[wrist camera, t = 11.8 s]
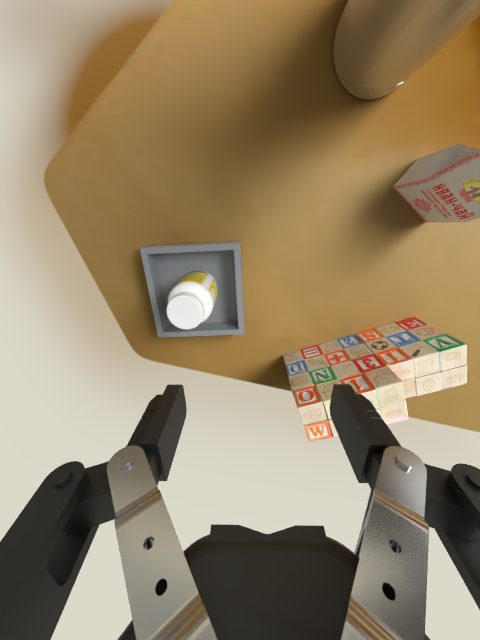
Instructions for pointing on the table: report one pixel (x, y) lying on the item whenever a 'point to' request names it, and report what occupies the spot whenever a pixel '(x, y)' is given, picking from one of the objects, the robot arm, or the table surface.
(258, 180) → the table surface
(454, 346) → the stack of blocks
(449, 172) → the herbal tea box
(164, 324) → the box
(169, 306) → the supplement bottle
